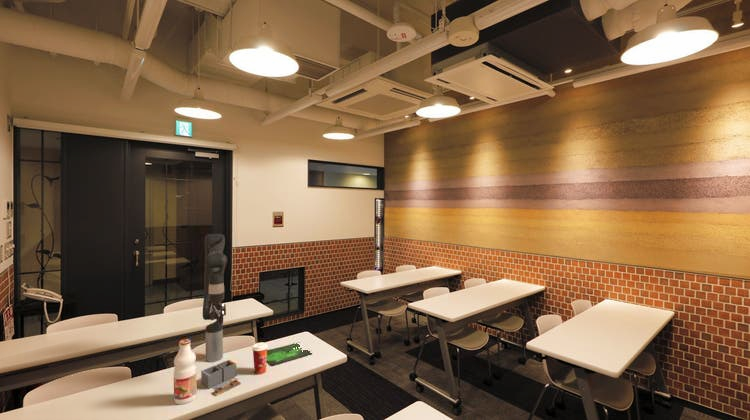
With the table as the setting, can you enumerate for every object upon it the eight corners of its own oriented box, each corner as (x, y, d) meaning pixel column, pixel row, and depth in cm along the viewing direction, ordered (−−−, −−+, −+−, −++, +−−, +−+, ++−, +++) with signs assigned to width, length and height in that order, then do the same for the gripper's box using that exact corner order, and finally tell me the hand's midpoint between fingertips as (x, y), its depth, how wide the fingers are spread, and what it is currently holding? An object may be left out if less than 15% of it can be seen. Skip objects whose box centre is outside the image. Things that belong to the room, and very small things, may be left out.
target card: (212, 387, 164) (211, 387, 164) (234, 377, 174) (234, 377, 174) (216, 390, 162) (216, 389, 162) (238, 379, 172) (238, 379, 172)
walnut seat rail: (212, 393, 159) (212, 390, 159) (237, 382, 169) (237, 378, 169) (215, 396, 157) (215, 392, 157) (240, 384, 168) (240, 380, 168)
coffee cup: (263, 376, 175) (262, 348, 175) (249, 374, 177) (249, 347, 177) (271, 368, 183) (270, 342, 183) (257, 367, 185) (257, 341, 185)
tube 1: (201, 384, 167) (201, 370, 167) (215, 378, 173) (214, 365, 173) (208, 389, 163) (208, 375, 163) (222, 382, 169) (222, 369, 169)
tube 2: (216, 377, 174) (216, 364, 174) (229, 372, 180) (229, 359, 180) (223, 382, 170) (223, 368, 169) (236, 376, 175) (236, 363, 175)
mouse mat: (300, 342, 219) (300, 340, 219) (314, 354, 202) (314, 352, 202) (259, 353, 203) (259, 351, 203) (270, 367, 185) (270, 365, 185)
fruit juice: (199, 398, 155) (199, 340, 155) (178, 407, 148) (177, 347, 148) (192, 390, 161) (191, 335, 161) (171, 399, 154) (170, 341, 154)
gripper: (202, 291, 175) (203, 320, 175) (216, 295, 167) (216, 326, 167) (216, 288, 181) (216, 316, 181) (230, 292, 173) (230, 322, 173)
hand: (216, 321), depth 174 cm, fingers open, 8 cm apart
